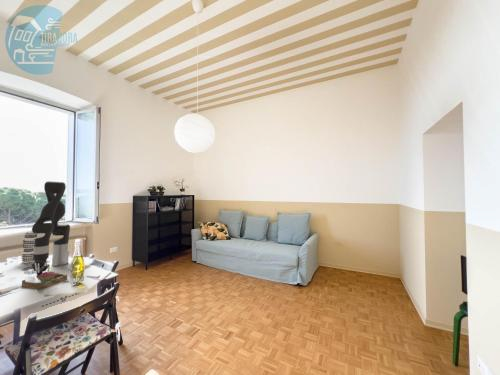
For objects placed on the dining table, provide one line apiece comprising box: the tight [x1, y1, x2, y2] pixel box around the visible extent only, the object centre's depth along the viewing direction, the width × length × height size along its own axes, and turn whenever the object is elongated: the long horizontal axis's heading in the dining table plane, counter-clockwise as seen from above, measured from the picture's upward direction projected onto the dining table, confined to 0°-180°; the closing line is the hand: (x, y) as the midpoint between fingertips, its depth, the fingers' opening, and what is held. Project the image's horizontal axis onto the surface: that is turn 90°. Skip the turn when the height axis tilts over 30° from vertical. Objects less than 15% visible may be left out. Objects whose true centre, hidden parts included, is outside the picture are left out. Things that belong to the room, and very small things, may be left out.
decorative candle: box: [21, 231, 38, 264], centre depth 175 cm, size 9×9×25 cm
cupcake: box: [37, 264, 56, 284], centre depth 138 cm, size 9×8×12 cm
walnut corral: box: [21, 270, 68, 290], centre depth 138 cm, size 16×15×4 cm
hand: (39, 277), depth 140 cm, fingers closed
